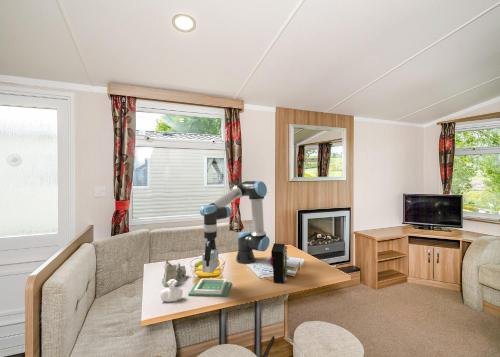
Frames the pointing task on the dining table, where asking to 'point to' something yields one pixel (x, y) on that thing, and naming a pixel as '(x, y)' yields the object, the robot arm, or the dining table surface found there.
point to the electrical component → (279, 262)
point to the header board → (211, 288)
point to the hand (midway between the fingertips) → (210, 267)
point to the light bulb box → (213, 261)
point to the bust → (171, 292)
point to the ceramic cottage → (173, 273)
